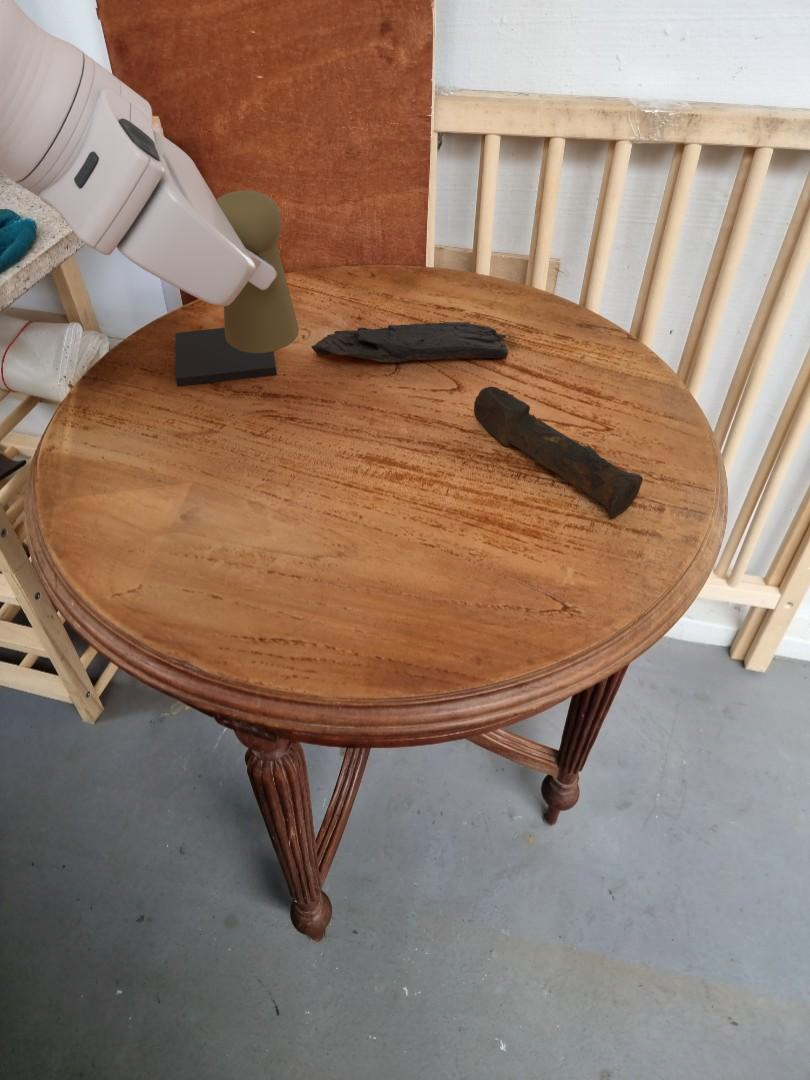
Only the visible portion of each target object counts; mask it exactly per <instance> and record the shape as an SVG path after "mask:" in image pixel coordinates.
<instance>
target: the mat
mask: <svg viewBox="0 0 810 1080" xmlns="http://www.w3.org/2000/svg"><path fill="white" fill-rule="evenodd" d="M174 336H175V337H174V338H175V339H174V340H175V343H174V345H175V348H174V349H175V351H174V352H175V358H174V359H175V360H174V361H175V382H176V387H181V386H184V387H185V386H189V385H190V386H192V385H200V384H209V383H217V382H226V381H234V380H235V381H236V380H244V379H253V378H261V377H269V376H276V375H278V373H277V372H278V371H277V365H276V358H275V351H272V352H266V353H249V352H244V351H240V350H238V349H236V348H234V347H232V346H231V345H230V344H229V343H228V342H227V341H226V337H225V327H218V328H209V329H200V330H190V331H189V330H188V331H181V332H175V334H174Z"/></svg>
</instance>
